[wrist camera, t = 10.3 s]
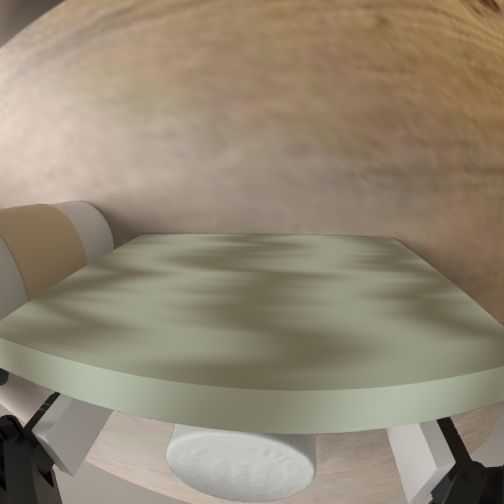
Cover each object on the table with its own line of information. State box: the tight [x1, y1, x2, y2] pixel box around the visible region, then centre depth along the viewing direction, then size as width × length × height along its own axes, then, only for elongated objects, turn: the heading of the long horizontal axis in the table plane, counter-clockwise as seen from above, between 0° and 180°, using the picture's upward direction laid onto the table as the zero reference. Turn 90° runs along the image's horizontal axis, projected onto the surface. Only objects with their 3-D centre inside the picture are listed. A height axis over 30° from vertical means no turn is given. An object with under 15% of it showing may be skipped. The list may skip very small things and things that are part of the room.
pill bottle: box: [166, 424, 316, 502], centre depth 13 cm, size 6×6×11 cm
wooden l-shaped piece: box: [0, 234, 504, 434], centre depth 14 cm, size 17×12×14 cm
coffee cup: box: [0, 201, 114, 385], centre depth 14 cm, size 9×9×15 cm
